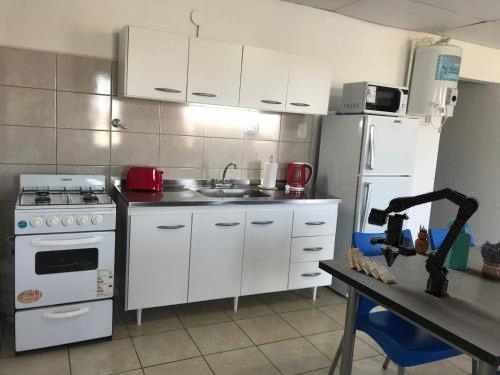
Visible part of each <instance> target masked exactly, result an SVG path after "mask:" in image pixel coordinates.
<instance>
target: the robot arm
mask: <svg viewBox="0 0 500 375" xmlns="http://www.w3.org/2000/svg"><path fill="white" fill-rule="evenodd" d="M445 199H446V200H447V201H450V203H453V204H454V205H456V206H458V210H457V213H456V217H455V219H454V220H453V221H454V222H452V226H451V228H450V229H449V230H448V231H447V232H446V235H445V236H444V238H443V239H442V241H441V243H440V245H439V247H438V248H437V250H436V251H435V250H434V249H432V250H431V251H430V252H429V254H428V257H427V258H426V260H425V261H424V263H425V265H424V268H425V270H426V272H427V273H428V274H429V275H428V278H427V282H426V289H424V290H423V291H424V292H425V293H428V294H429V295H432V296H435V297H437V298H444V297H447V296H450V293H448V287H449V279H447V278H448V276H449V274H450V271H449V270H448V268H447V266H446V265H445V262H446V258H447V255H448V252H449V251H450V249H451V247H452V245H453V244H454V242H455V240H456V239H457V237H458V235H459V233H460V232H461V230H462V228H463V227H464V225H465V223H466V222H467V223H468V221H469V220H470V219H471V218H472V217H473V215H475V213H476V212H477V211H478V209H479V208H480V205H481V204H480V201H479V198H477V197H475V196H473V195H466V194H464V193H461V192H459V191H458V190H455V189H454V188H452V187H449V186H448V187H447V186H446V187H444V188H441V189H437V190H433V191H430V192H425V193H422V194H421V193H420V194H417V195H409V196H398V197H395V198H392V199H391V200H389V203H388V206H386V208H384V209H380V208H379V209H378V208H375V207H371V208H370V212H369V214H368V217H367V224H368V225H373V226H377V227H384V226H385V225H387V226H386V229H385V230H384V231H383V232H384V234H385V237H382V236H372V237H371V238H370V239H369V245H373V246H377V244H378V245H381V247H380V248H379V250H381V251H382V254H383V257H384V260H385V262H386V265H387V267H388V268H392V266H393V265H394V263H395V261H396V260H397V258H398V256H399V255H400V256H404V257H414V256H417V253H416V252H417V251H416V249H415V247H413V246H410V243H411V241H412V239H411V238H409V237H407V236H405V232H403V227H404V221H408V220H409V219H410V217H409V216H408V215H407V213H406V212H404V213H403V214H400V213H401V212H403V211H406V210H409V209H410V208H414V207H416V206H420V205H423V204H424V205H425V204H428V203H431V202H436V201H437V202H438V201H440V200H445ZM393 213H394V214H393Z"/></svg>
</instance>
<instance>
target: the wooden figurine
mask: <svg viewBox="0 0 500 375" xmlns="http://www.w3.org/2000/svg"><path fill="white" fill-rule="evenodd" d="M418 231H419V232H418V233H417V238H416V239H415V240H414V244H413V245H414V247H413V248H415V249H416V251H417V252H416V254H420V255H425V254H427V251H428V249H429V246H430V242H429V239H428V238H429V234H428V229H427V228H426V227H425V225H422V224H421V223H420V225H419V230H418Z"/></svg>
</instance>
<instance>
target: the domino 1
mask: <svg viewBox="0 0 500 375" xmlns="http://www.w3.org/2000/svg"><path fill="white" fill-rule="evenodd" d="M347 251H348V252H347V253H348V261H349V268H350V269H351V268H352V269H353V268H357V266H356V264H355V262H354V259H353V257H352V253H354V252H360V248H359V247H357V248H356V247H354V248H348V249H347Z"/></svg>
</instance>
